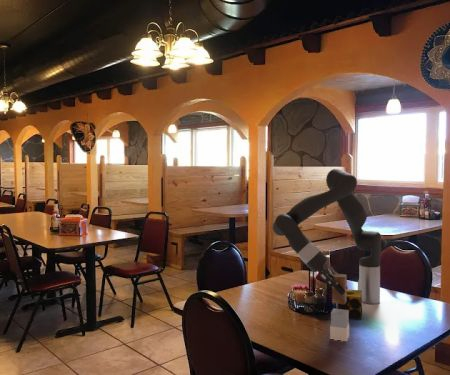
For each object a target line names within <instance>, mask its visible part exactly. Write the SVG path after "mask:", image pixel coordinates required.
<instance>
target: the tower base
mask: <svg viewBox="0 0 450 375" xmlns="http://www.w3.org/2000/svg"><path fill="white" fill-rule="evenodd" d="M329 331H330V332H329V339H334V340H333V341H337V340H341V341H340V342H343V341H347V342H348V340H349V338H350V322H349V323H348V326H347V328H340V327H333V326H331V325H330V326H329Z"/></svg>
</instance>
